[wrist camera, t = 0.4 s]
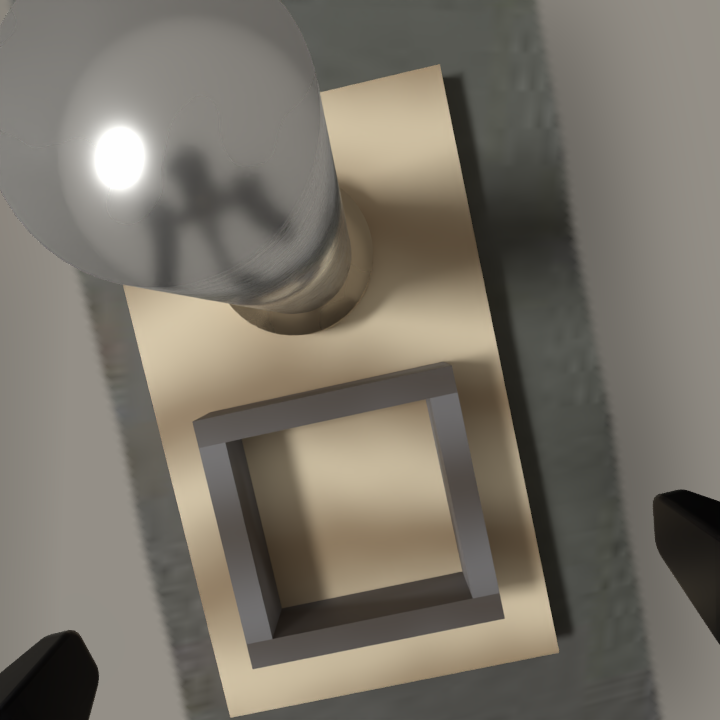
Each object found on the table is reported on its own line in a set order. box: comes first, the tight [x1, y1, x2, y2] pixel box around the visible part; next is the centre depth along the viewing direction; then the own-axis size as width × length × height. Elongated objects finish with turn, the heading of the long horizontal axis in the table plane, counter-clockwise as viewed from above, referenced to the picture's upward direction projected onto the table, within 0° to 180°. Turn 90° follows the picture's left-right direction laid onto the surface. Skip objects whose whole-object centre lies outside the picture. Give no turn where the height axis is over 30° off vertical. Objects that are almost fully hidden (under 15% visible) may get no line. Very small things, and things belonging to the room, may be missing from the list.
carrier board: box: [123, 64, 559, 718], centre depth 19 cm, size 24×14×3 cm, turn 12°
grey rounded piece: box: [0, 0, 373, 336], centre depth 13 cm, size 6×6×13 cm
